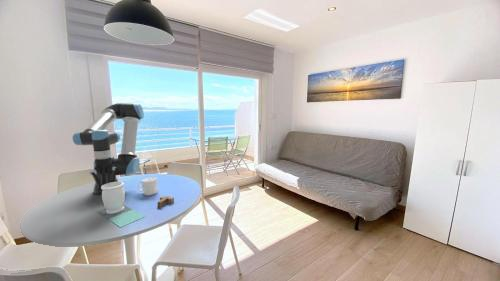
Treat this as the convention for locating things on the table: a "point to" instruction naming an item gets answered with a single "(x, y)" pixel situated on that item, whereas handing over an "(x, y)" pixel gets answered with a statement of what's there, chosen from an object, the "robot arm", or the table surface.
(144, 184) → the mug
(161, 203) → the t block
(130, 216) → the mat
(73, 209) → the table surface
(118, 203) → the jar
